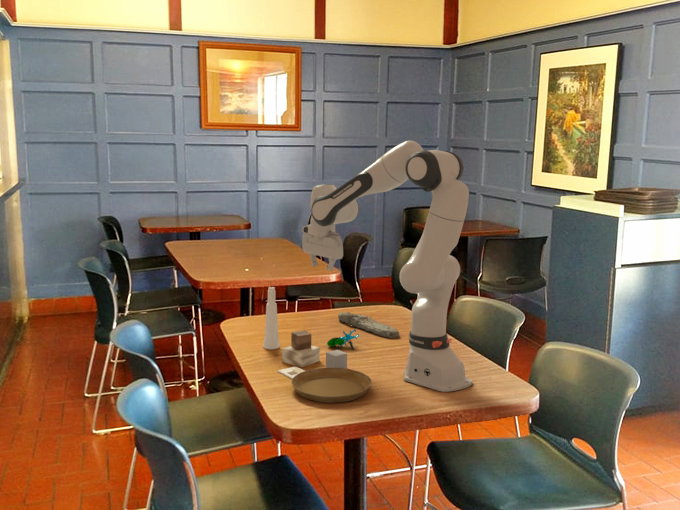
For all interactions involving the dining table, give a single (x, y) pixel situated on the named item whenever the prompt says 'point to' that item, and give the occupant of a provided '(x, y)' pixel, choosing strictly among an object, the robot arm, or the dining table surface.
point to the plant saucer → (331, 384)
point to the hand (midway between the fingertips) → (322, 268)
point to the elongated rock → (368, 324)
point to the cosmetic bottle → (271, 322)
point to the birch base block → (300, 356)
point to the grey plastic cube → (336, 359)
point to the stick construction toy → (342, 340)
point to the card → (291, 371)
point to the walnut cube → (301, 340)
